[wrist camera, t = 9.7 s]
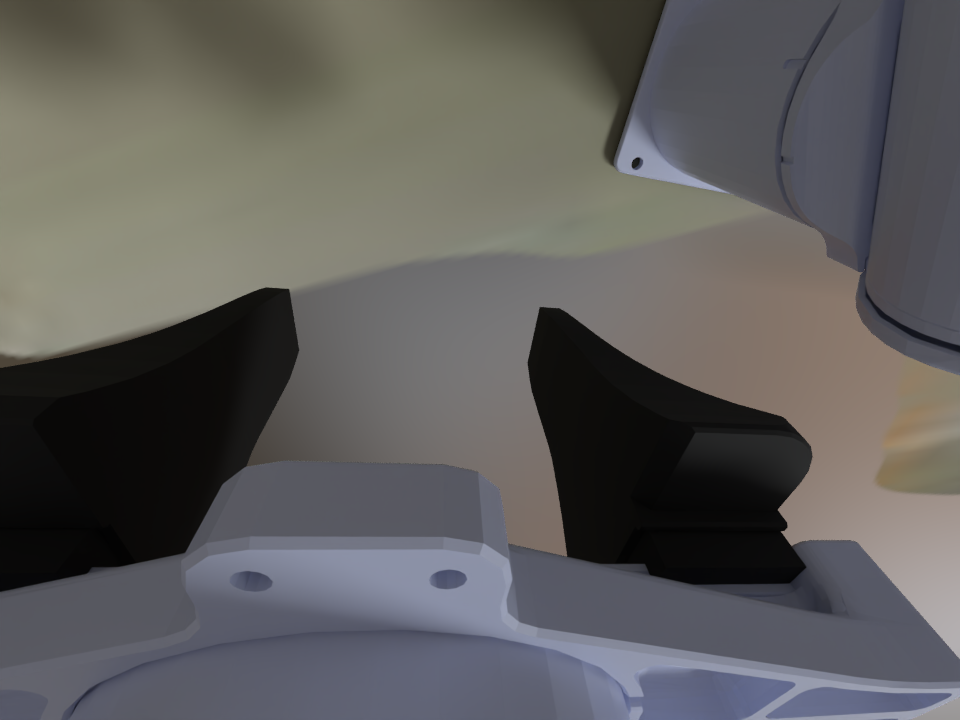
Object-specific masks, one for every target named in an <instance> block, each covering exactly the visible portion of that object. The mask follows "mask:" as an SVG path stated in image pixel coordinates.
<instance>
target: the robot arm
mask: <svg viewBox="0 0 960 720" xmlns="http://www.w3.org/2000/svg"><path fill="white" fill-rule="evenodd" d="M637 157H639V159H640V162H639V164H638V166H637V167H635V168H632V166H631V165H632V161H633V160H634V159H635V158H637ZM614 167H615V169H616V170H617V171H619V172H621V173H624V174H630V175H635V176H640V177H645V178H650V179H656V180H661V181H666V182H671V183H677V184H682V185H687V186H692V187H697V188H703V189H708V190H713V191H718V192H723V193H729V194H733V195H736V196H738V197H740V198H743V199H745V200H748V201H750V202H752V203H755V204H757V205H759V206H762V207H764V208H767V209H769V210H771V211H774V212H776V213H779V214H781V215H783V216H786V217H788V218H791V219H793V220H795V221H798V222H800V223H802V224H805V225H807V226H810V227H812V228H815V229H816V230H817V231H818V232H820V233H821V235H822V236H823V238H824V240H825V243H826V246H827V256H828V257H829V258H831V259H833V260H835V261H837V262H840V263H842V264H844V265H846V266H848V267H850V268H852V269H854V270H856V271H858V272H863V271H864V272H863V273H862V274H861V275H860V279H859V283H858V288H857V292H856V308H857V311H858V314H859V316H860V318H861V320H862V322H863V323H864V325H865V326H866V327H867V328H868V329H869V330H870V332H871V333H872V334H873V335H875V336H876V337H877V338H879V339H880V340H881V341H883V342H884V343H885V344H886V345H888V346H890V347H891V348H893V349H895V350H897V351H899V352H900V353H902V354H904V355H906V356H908V357H910V358H913V359H915V360H917V361H920V362H922V363H925V364H927V365H929V366H932V367H935V368H938V369H941V370H945V371H948V372H951V373H954V374H957V375H960V0H666V3H665V6H664V9H663V12H662V15H661V18H660V21H659V24H658V27H657V30H656V33H655V36H654V39H653V42H652V45H651V48H650V51H649V54H648V57H647V61H646V64H645V67H644V70H643V73H642V76H641V79H640V82H639V85H638V88H637V91H636V94H635V97H634V100H633V103H632V106H631V109H630V112H629V115H628V118H627V121H626V124H625V127H624V130H623V133H622V136H621V139H620V142H619V145H618V148H617V151H616V155H615V158H614ZM864 269H865V270H864ZM298 352H299V347H298V340H297V334H296V328H295V323H294V316H293V310H292V304H291V298H290V292H289V289H280V288H263V289H259V290H256V291H254V292H251V293H249V294H246V295H244V296H242V297H240V298H237V299H235V300H233V301H231V302H228V303H226V304H224V305H222V306H219V307H217V308H215V309H213V310H210V311H208V312H206V313H203V314H201V315H198V316H196V317H193V318H191V319H188V320H186V321H183V322H181V323H178V324H176V325H173V326H171V327H168V328H165V329H163V330H160V331H157V332H154V333H151V334H148V335H145V336H141V337H138V338H135V339H132V340H128V341H125V342H122V343H118V344H114V345H110V346H106V347H102V348H98V349H94V350H90V351H85V352H81V353H78V354H73V355H69V356H64V357H59V358H54V359H49V360H44V361H39V362H33V363H28V364H22V365H16V366H10V367H4V368H0V720H911V719H913V718H915V717H918V716H920V715H922V714H924V713H926V712H928V711H931V710H933V709H935V708H937V707H939V706H942V705H944V704H946V703H948V702H950V701H952V700H955V699H957V698H959V697H960V659H959V658H958V657H957V656H956V655H955V653H954V652H953V651H952V650H951V649H950V648H949V646H947V644H946V643H945V642H944V641H943V640H942V639H941V637H940V636H939V635H938V634H937V633H936V632H935V630H933V628H932V627H931V626H930V625H929V624H928V623H927V621H926V620H925V619H924V618H923V617H922V616H921V615H920V613H919V612H918V611H917V610H916V609H915V608H914V607H913V605H912V604H911V603H910V602H909V601H908V600H907V599H906V598H905V596H904V595H903V594H902V593H901V592H900V591H899V589H898V588H897V587H896V586H895V585H894V584H893V583H892V582H891V581H890V579H889V578H888V577H887V576H886V575H885V574H884V572H883V571H882V570H881V569H880V568H879V567H878V566H877V564H876V563H875V562H874V561H873V560H872V559H871V558H870V556H869V555H868V554H867V553H866V552H865V551H864V550H863V549H862V547H861V546H860V545H859V544H858V543H857V542H855V541H851V540H809V541H802V542H800V543H797V544H795V545H793V546H791V545H790V544H789V542H788V541H787V540H786V538H785V537H784V536H783V534H782V533H781V531H785V529H786V528H787V522H786V521H785V519H784V518H783V517H782V516H781V514H780V513H779V511H778V508H779V507H780V506H781V505H782V504H783V502H784V501H785V500H786V499H787V498H788V497H789V496H790V494H791V493H792V492H793V491H794V490H795V489H796V487H797V486H798V485H799V484H800V482H801V481H802V480H803V478H804V477H805V475H806V474H807V472H808V471H809V467H810V464H811V460H812V451H811V446H810V445H809V444H808V443H807V441H806V440H805V439H804V438H803V437H802V436H801V435H800V434H799V433H798V432H797V431H796V429H795V428H794V427H792V425H791V424H789V423H788V421H787V420H786V419H785V418H783V417H781V416H778V415H774V414H771V413H767V412H763V411H760V410H756V409H753V408H749V407H746V406H742V405H738V404H735V403H732V402H729V401H726V400H723V399H720V398H717V397H714V396H712V395H709V394H706V393H703V392H701V391H698V390H696V389H693V388H690V387H688V386H686V385H683V384H681V383H679V382H677V381H674V380H672V379H670V378H667V377H665V376H663V375H661V374H659V373H657V372H655V371H653V370H651V369H650V368H648V367H646V366H644V365H642V364H640V363H639V362H637V361H635V360H633V359H632V358H630V357H628V356H627V355H625V354H624V353H622V352H621V351H619V350H617V349H616V348H614V347H613V346H611V345H610V344H609V343H607V342H606V341H604V340H603V339H601V338H600V337H599V336H597V335H596V334H594V333H593V332H592V331H591V330H589V329H588V328H587V327H585V326H584V325H583V324H581V323H580V322H578V321H577V320H576V319H575V318H573V317H572V316H570V315H569V314H568V313H566V312H565V311H563V310H561V309H559V308H546V307H540V309H539V313H538V318H537V322H536V327H535V332H534V336H533V341H532V345H531V350H530V354H529V359H528V370H529V377H530V383H531V389H532V393H533V396H534V399H535V403H536V406H537V410H538V413H539V416H540V419H541V423H542V426H543V429H544V432H545V436H546V439H547V442H548V445H549V449H550V453H551V457H552V461H553V467H554V472H555V478H556V483H557V488H558V495H559V501H560V507H561V513H562V520H563V528H564V535H565V543H566V550H567V557H566V556H562V555H557V554H553V553H548V552H544V551H539V550H534V549H530V548H526V547H521V546H516V545H512V544H508V542H507V533H506V526H505V519H504V512H503V505H502V500H501V495H500V489H499V488H498V487H497V486H495V485H494V484H493V483H491V482H490V481H489V480H488V479H486V478H485V477H484V476H482V475H481V474H480V473H478V472H476V471H473V470H469V469H464V468H459V467H454V466H449V465H444V464H409V463H364V462H323V461H322V462H321V461H280V462H274V463H267V464H261V465H254V466H249V467H246V466H247V463H248V461H249V458H250V455H251V453H252V450H253V448H254V446H255V444H256V442H257V440H258V438H259V436H260V434H261V432H262V430H263V428H264V426H265V425H266V423H267V421H268V419H269V417H270V415H271V413H272V411H273V410H274V408H275V406H276V404H277V401H278V400H279V398H280V396H281V394H282V392H283V391H284V389H285V387H286V385H287V383H288V381H289V379H290V376H291V374H292V371H293V368H294V365H295V362H296V359H297V355H298Z"/></svg>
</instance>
